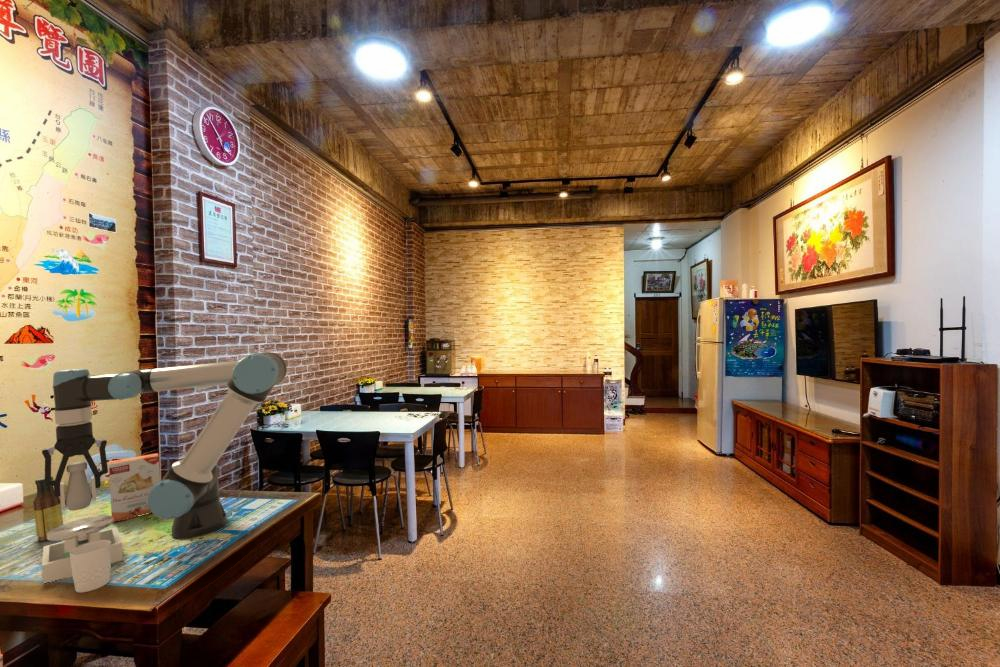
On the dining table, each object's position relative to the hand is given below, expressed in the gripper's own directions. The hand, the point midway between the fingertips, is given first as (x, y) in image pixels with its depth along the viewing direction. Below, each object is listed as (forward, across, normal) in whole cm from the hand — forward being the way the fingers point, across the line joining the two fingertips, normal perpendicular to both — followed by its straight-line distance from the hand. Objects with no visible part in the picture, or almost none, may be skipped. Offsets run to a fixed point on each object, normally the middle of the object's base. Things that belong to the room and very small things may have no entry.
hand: (79, 503), depth 128 cm
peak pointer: (+8, 0, +10) cm, 13 cm away
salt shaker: (+2, 0, 0) cm, 2 cm away
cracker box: (+17, -15, -31) cm, 39 cm away
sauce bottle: (+17, +7, -32) cm, 37 cm away
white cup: (+17, -2, +19) cm, 26 cm away
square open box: (+17, 0, 0) cm, 17 cm away
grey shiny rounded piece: (+13, 0, +2) cm, 13 cm away
